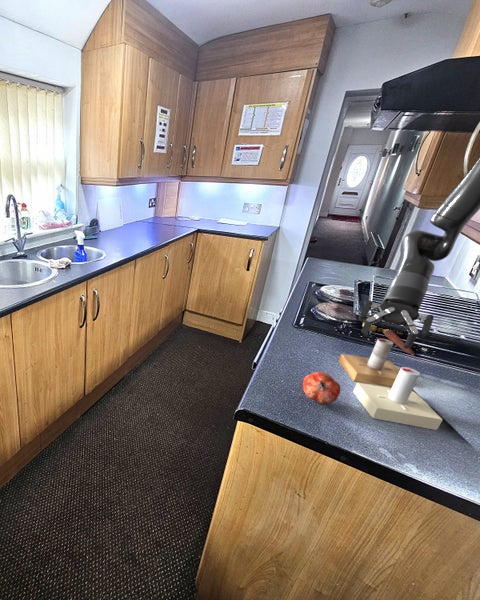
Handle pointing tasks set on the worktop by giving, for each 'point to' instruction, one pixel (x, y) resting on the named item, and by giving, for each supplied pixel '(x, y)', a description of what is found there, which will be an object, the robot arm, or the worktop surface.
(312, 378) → the pomegranate
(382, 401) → the cream base plate
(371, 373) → the brown wooden block
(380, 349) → the rod
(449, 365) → the worktop surface
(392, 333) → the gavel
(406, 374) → the rod
